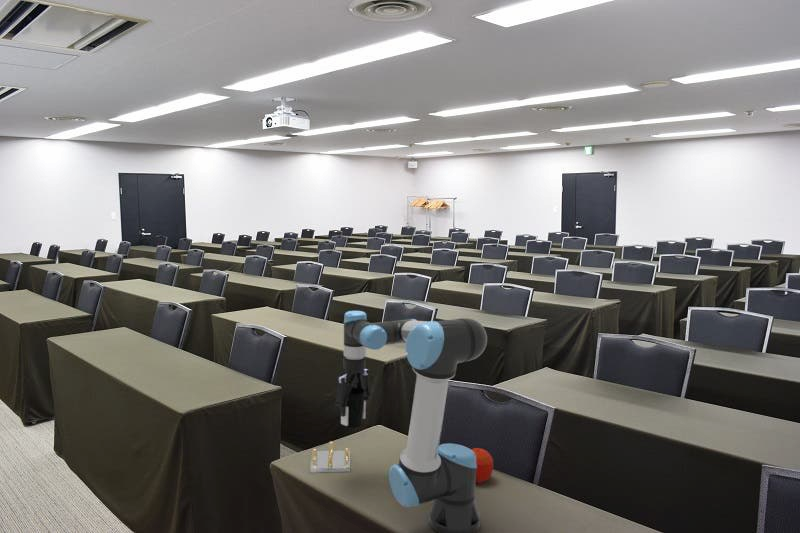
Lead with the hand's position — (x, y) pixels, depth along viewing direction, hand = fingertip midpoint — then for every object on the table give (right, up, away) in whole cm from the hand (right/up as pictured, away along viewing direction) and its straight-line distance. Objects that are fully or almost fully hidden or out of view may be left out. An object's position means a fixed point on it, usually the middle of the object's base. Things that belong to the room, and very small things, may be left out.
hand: (353, 421), depth 193 cm
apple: (+43, -21, +1) cm, 48 cm away
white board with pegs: (-9, -19, +11) cm, 24 cm away
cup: (0, -1, 0) cm, 1 cm away
